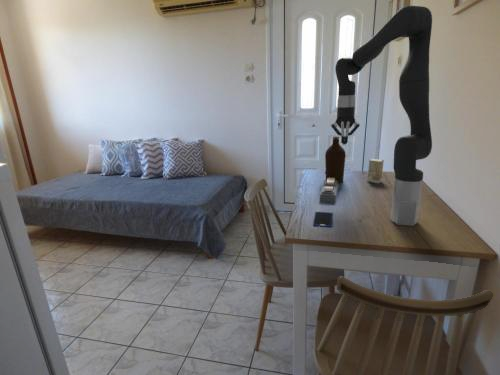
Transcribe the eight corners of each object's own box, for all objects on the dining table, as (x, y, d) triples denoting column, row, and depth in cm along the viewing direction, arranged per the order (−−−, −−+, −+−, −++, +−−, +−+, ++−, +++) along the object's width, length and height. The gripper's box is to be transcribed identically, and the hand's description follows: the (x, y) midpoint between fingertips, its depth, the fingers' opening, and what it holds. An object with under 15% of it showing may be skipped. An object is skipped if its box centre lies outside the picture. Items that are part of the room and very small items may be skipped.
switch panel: (335, 202, 139) (335, 193, 138) (319, 201, 141) (320, 192, 140) (338, 187, 159) (338, 179, 157) (324, 186, 161) (324, 179, 160)
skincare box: (367, 181, 165) (368, 160, 161) (370, 179, 168) (371, 158, 164) (378, 183, 161) (380, 161, 157) (381, 181, 164) (383, 159, 160)
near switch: (332, 191, 140) (332, 188, 140) (324, 190, 141) (324, 187, 141) (333, 189, 145) (333, 186, 145) (325, 188, 146) (325, 186, 146)
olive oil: (348, 181, 167) (350, 136, 159) (336, 185, 161) (337, 139, 153) (332, 177, 175) (334, 134, 168) (320, 181, 169) (321, 137, 162)
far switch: (333, 184, 151) (334, 182, 151) (326, 184, 153) (326, 181, 152) (334, 180, 156) (334, 177, 155) (327, 179, 157) (327, 177, 156)
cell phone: (312, 227, 117) (312, 225, 117) (315, 213, 130) (315, 211, 129) (332, 228, 115) (332, 226, 115) (333, 214, 128) (333, 212, 127)
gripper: (330, 107, 134) (329, 145, 139) (361, 106, 129) (359, 145, 135) (331, 105, 140) (330, 142, 146) (361, 104, 136) (359, 142, 141)
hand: (344, 144), depth 140 cm, fingers closed
